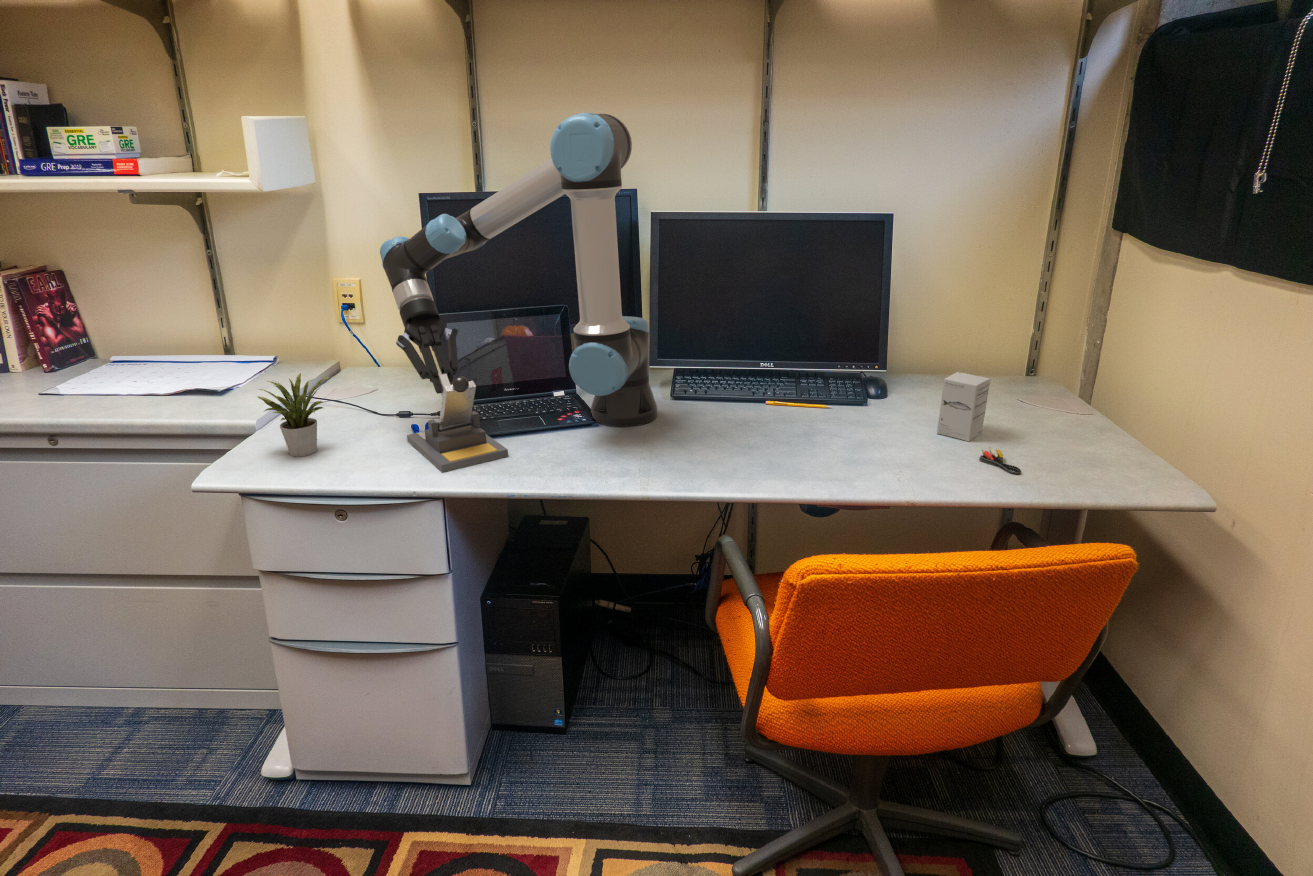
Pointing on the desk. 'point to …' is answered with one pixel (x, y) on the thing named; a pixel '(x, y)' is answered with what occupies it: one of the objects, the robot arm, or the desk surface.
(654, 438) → the desk surface
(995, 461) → the composite cable
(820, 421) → the desk surface
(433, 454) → the switch unit
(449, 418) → the toggle lever
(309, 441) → the house plant
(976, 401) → the supplement box
